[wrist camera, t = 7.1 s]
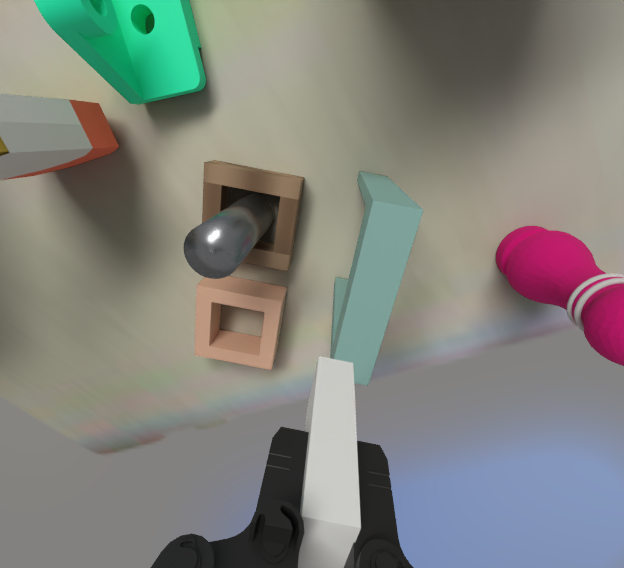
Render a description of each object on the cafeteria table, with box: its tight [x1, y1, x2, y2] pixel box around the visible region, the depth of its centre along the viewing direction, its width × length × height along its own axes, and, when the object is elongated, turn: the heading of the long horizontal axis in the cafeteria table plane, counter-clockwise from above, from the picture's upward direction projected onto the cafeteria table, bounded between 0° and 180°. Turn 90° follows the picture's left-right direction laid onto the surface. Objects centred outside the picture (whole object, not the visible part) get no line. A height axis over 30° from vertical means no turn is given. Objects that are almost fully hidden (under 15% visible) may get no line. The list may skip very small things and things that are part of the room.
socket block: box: [202, 160, 304, 271], centre depth 37 cm, size 10×10×3 cm
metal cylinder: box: [184, 194, 274, 279], centre depth 32 cm, size 4×4×14 cm
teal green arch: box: [330, 171, 423, 386], centre depth 30 cm, size 3×14×17 cm, turn 170°
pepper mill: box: [496, 226, 624, 366], centre depth 29 cm, size 7×7×20 cm
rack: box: [195, 276, 287, 370], centre depth 42 cm, size 10×10×4 cm
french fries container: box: [0, 94, 119, 180], centre depth 28 cm, size 5×11×18 cm, turn 106°
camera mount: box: [34, 0, 206, 105], centre depth 27 cm, size 12×8×10 cm, turn 10°
